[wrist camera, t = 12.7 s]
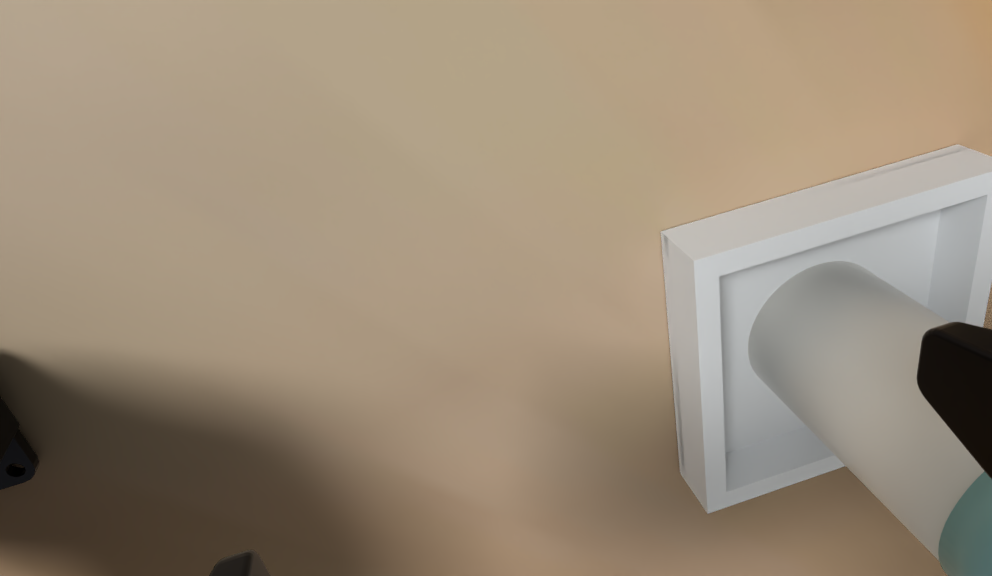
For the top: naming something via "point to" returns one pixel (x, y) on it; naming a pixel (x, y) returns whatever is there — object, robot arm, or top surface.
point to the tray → (778, 257)
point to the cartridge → (875, 403)
